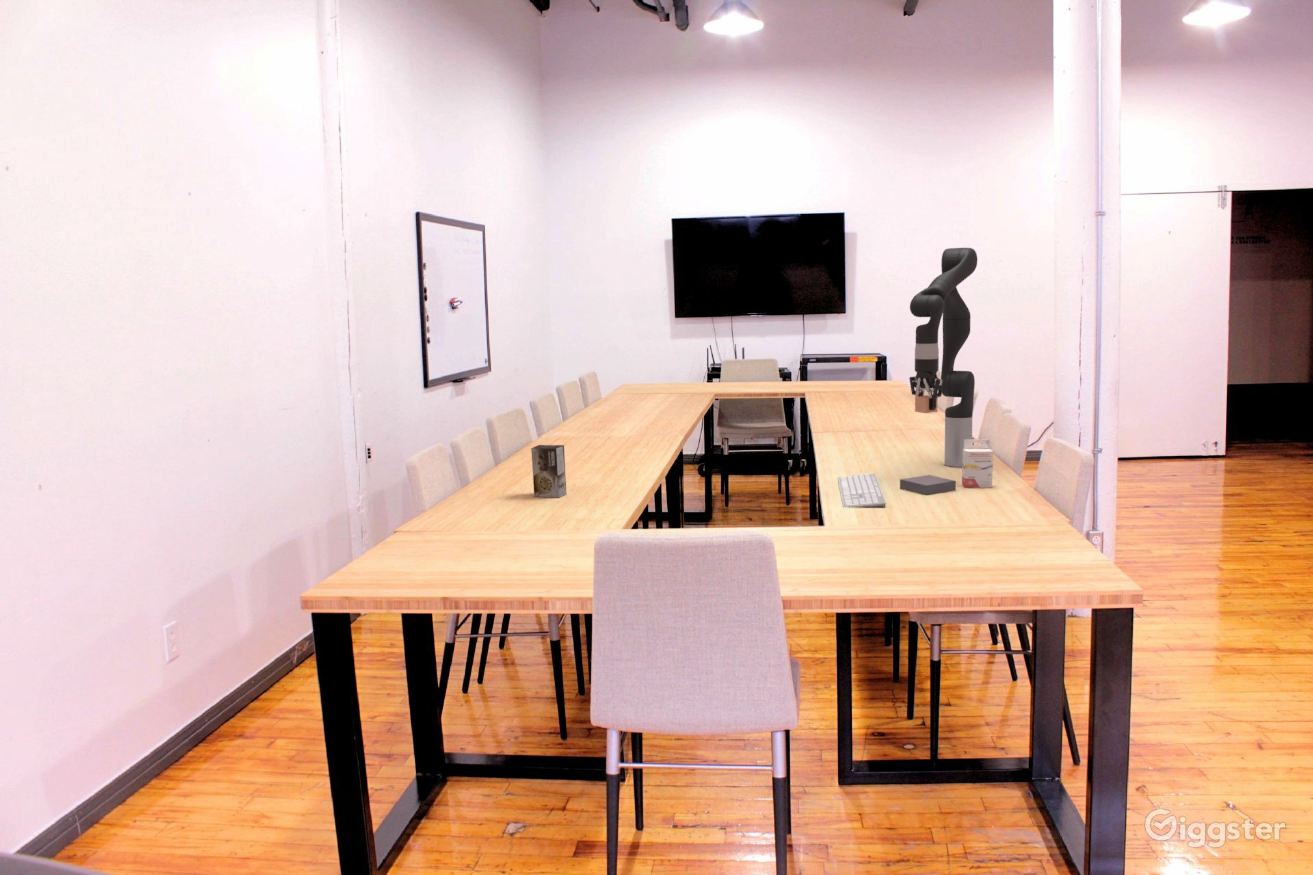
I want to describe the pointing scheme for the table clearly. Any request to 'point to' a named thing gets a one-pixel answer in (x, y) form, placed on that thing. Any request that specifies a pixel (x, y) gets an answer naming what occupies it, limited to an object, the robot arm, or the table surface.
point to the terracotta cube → (923, 404)
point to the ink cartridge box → (977, 464)
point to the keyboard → (861, 491)
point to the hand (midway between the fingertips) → (926, 408)
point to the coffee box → (548, 470)
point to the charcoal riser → (927, 484)
